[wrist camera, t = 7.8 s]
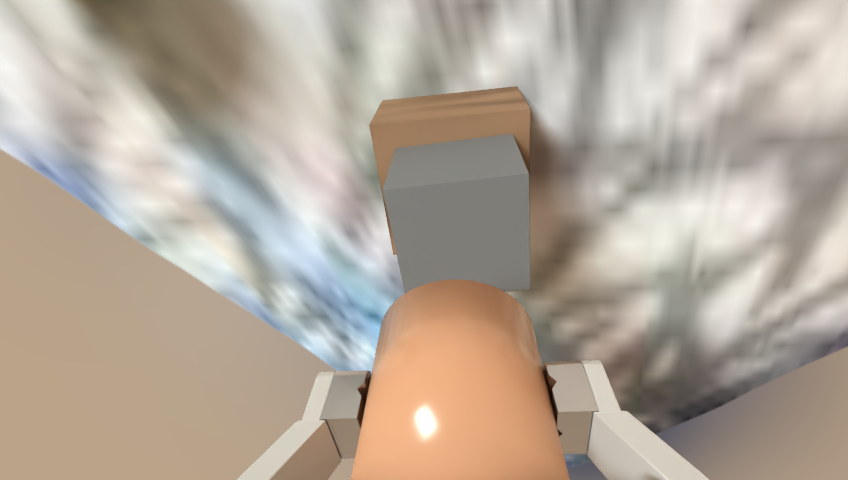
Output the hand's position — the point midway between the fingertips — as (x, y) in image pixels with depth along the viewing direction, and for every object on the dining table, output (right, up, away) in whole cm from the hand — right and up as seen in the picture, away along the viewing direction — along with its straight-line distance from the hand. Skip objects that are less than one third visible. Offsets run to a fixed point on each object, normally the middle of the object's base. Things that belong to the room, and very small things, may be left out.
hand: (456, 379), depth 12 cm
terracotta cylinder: (0, +1, +1) cm, 2 cm away
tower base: (+1, +10, +15) cm, 18 cm away
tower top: (+1, +7, +11) cm, 13 cm away
